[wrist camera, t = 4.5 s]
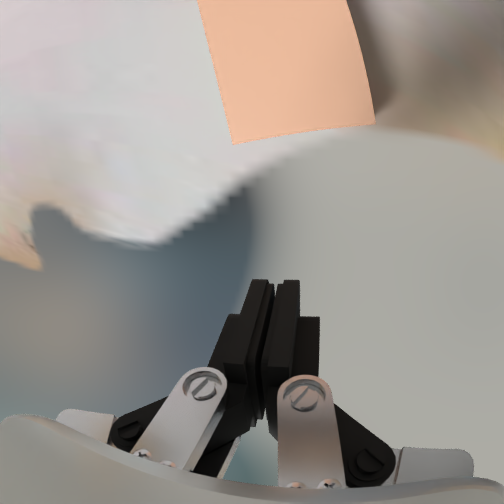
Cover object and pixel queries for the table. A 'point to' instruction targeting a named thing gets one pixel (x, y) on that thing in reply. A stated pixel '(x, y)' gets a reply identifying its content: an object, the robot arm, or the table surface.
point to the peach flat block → (286, 66)
